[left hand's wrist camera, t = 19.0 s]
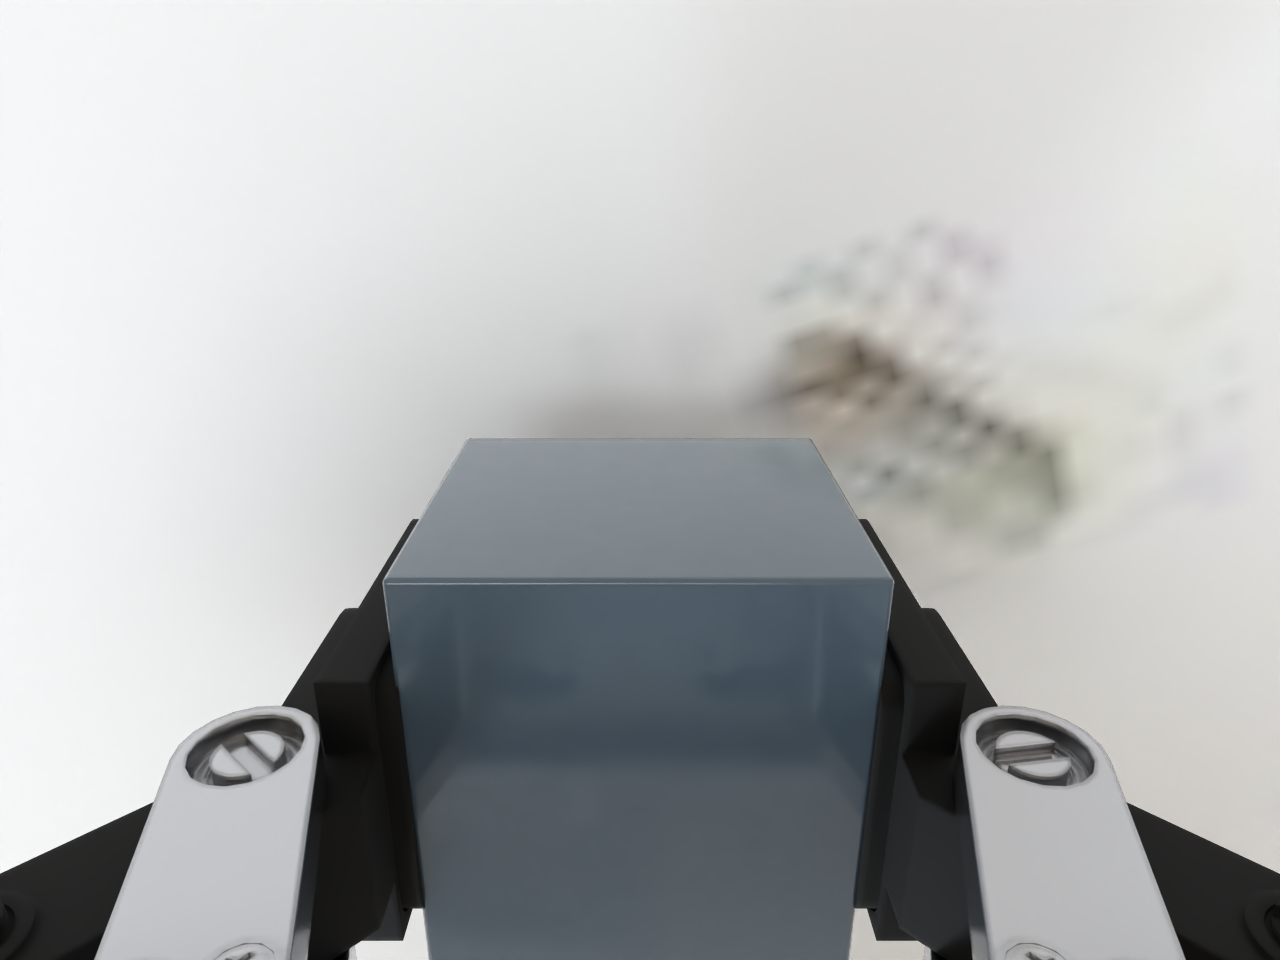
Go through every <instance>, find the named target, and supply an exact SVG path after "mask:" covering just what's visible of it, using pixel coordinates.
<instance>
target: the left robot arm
mask: <svg viewBox="0 0 1280 960" xmlns="http://www.w3.org/2000/svg"><path fill="white" fill-rule="evenodd" d="M418 520H419V519H413V520H412V521H411V522H410V524H409V526H408V527H407V529H406V531H405V532H404V534H403V535H402V537H401V539H400V540H399V542H398V544H397V545H396V547H395V549H394V550H393V552H392V554H391V555H390V557H389V559H388V560H387V562H386V563H385V565H384V567H383V568H382V570H381V572H380V573H379V575H378V577H377V578H376V580H375V582H374V583H373V585H372V587H371V588H370V590H369V591H368V593H367V595H366V596H365V598H364V600H363V601H362V603H361V605H360V606H359V608H348V609H345V610H344V611H343V612H342V613H341V614H340V615H339V617H338V618H337V620H336V622H335V623H334V625H333V626H332V628H331V629H330V631H329V633H328V634H327V636H326V637H325V639H324V640H323V642H322V644H321V645H320V647H319V648H318V650H317V651H316V653H315V654H314V656H313V658H312V659H311V661H310V662H309V664H308V665H307V667H306V669H305V670H304V672H303V673H302V675H301V676H300V678H299V680H298V681H297V683H296V684H295V686H294V687H293V689H292V690H291V692H290V694H289V695H288V697H287V698H286V700H285V701H284V703H283V705H282V706H264V707H254V708H250V709H245V710H241V711H237V712H233V713H231V714H228V715H226V716H223V717H220V718H218V719H215V720H213V721H211V722H209V723H208V724H206V725H204V726H203V727H201V728H199V729H198V730H196V731H194V732H193V733H192V734H191V735H190V736H189V737H187V738H186V739H185V740H184V741H183V742H182V743H181V744H180V745H179V746H178V747H177V749H176V750H175V752H174V754H173V755H172V757H171V759H170V760H169V763H168V766H167V768H166V771H165V774H164V776H163V779H162V782H161V784H160V787H159V789H158V792H157V795H156V797H155V800H154V802H153V803H151V804H149V805H146V806H144V807H142V808H140V809H138V810H136V811H134V812H131V813H129V814H127V815H125V816H123V817H121V818H119V819H116V820H114V821H112V822H110V823H108V824H106V825H104V826H101V827H99V828H97V829H95V830H93V831H91V832H89V833H86V834H84V835H82V836H80V837H78V838H76V839H74V840H71V841H69V842H67V843H65V844H63V845H61V846H59V847H56V848H54V849H52V850H50V851H48V852H46V853H44V854H41V855H39V856H37V857H35V858H33V859H31V860H29V861H27V862H24V863H22V864H20V865H18V866H16V867H14V868H12V869H9V870H7V871H5V872H3V873H1V874H0V960H357V958H356V951H355V945H356V944H357V943H359V942H360V941H403V939H404V935H405V932H406V929H407V925H408V922H409V919H410V915H411V912H412V909H413V908H425V904H424V895H423V887H422V879H421V871H420V862H419V854H418V846H417V837H416V829H415V821H414V813H413V804H412V796H411V788H410V779H409V771H408V763H407V755H406V746H405V738H404V730H403V722H402V713H401V705H400V697H399V688H398V687H397V686H396V685H395V679H394V671H393V663H392V655H391V647H390V639H389V631H388V622H387V614H386V606H385V598H384V590H383V580H384V578H385V576H386V574H387V573H388V571H389V569H390V568H391V566H392V564H393V562H394V561H395V559H396V557H397V556H398V554H399V552H400V551H401V549H402V547H403V546H404V544H405V542H406V541H407V539H408V537H409V536H410V534H411V532H412V531H413V529H414V527H415V525H416V524H417V522H418ZM858 520H859V521H860V523H861V525H862V526H863V528H864V530H865V532H866V533H867V535H868V537H869V538H870V540H871V542H872V543H873V545H874V547H875V549H876V550H877V552H878V554H879V555H880V557H881V559H882V561H883V562H884V564H885V566H886V567H887V569H888V571H889V572H890V574H891V576H892V578H893V580H894V589H893V597H892V606H891V614H890V622H889V631H888V639H887V647H886V656H885V664H884V672H883V681H882V686H881V690H880V699H879V707H878V715H877V724H876V732H875V740H874V749H873V757H872V765H871V774H870V782H869V790H868V798H867V807H866V815H865V823H864V832H863V840H862V848H861V857H860V865H859V873H858V882H857V890H856V898H855V907H854V908H867V910H868V913H869V917H870V920H871V923H872V927H873V930H874V933H875V937H876V940H877V941H919V942H921V943H922V944H924V945H925V951H924V958H923V960H1280V874H1279V873H1277V872H1275V871H1272V870H1270V869H1268V868H1266V867H1264V866H1262V865H1260V864H1257V863H1255V862H1253V861H1251V860H1249V859H1247V858H1245V857H1242V856H1240V855H1238V854H1236V853H1234V852H1232V851H1230V850H1227V849H1225V848H1223V847H1221V846H1219V845H1217V844H1215V843H1212V842H1210V841H1208V840H1206V839H1204V838H1202V837H1200V836H1197V835H1195V834H1193V833H1191V832H1189V831H1187V830H1185V829H1182V828H1180V827H1178V826H1176V825H1174V824H1172V823H1170V822H1167V821H1165V820H1163V819H1161V818H1159V817H1157V816H1155V815H1152V814H1150V813H1148V812H1146V811H1144V810H1142V809H1140V808H1138V807H1135V806H1133V805H1131V804H1129V803H1127V802H1126V800H1125V797H1124V795H1123V792H1122V789H1121V787H1120V784H1119V782H1118V779H1117V776H1116V774H1115V771H1114V768H1113V766H1112V763H1111V760H1110V759H1109V757H1108V755H1107V754H1106V752H1105V750H1104V749H1103V747H1102V746H1101V745H1100V744H1099V743H1098V742H1097V741H1096V740H1095V739H1094V738H1093V737H1091V736H1090V735H1089V734H1088V733H1087V732H1086V731H1084V730H1082V729H1081V728H1079V727H1077V726H1076V725H1074V724H1072V723H1071V722H1069V721H1067V720H1065V719H1062V718H1060V717H1057V716H1054V715H1052V714H1049V713H1047V712H1043V711H1039V710H1035V709H1030V708H1026V707H1016V706H998V705H997V704H996V702H995V701H994V699H993V697H992V696H991V694H990V693H989V691H988V690H987V688H986V687H985V685H984V683H983V682H982V680H981V679H980V677H979V676H978V674H977V672H976V671H975V669H974V668H973V666H972V665H971V663H970V661H969V660H968V658H967V657H966V655H965V654H964V652H963V651H962V649H961V647H960V646H959V644H958V643H957V641H956V640H955V638H954V636H953V635H952V633H951V632H950V630H949V629H948V627H947V625H946V624H945V622H944V621H943V619H942V618H941V616H940V614H939V613H938V612H937V611H936V610H935V609H932V608H921V607H920V605H919V604H918V602H917V600H916V599H915V597H914V596H913V594H912V592H911V591H910V589H909V587H908V586H907V584H906V582H905V581H904V579H903V577H902V576H901V574H900V572H899V571H898V569H897V568H896V566H895V564H894V563H893V561H892V559H891V558H890V556H889V554H888V553H887V551H886V549H885V548H884V546H883V544H882V543H881V541H880V540H879V538H878V536H877V535H876V533H875V531H874V530H873V528H872V526H871V525H870V523H869V522H868V521H867V520H866V519H858Z"/></svg>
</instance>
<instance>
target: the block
mask: <svg viewBox="0 0 1280 960" xmlns="http://www.w3.org/2000/svg"><path fill="white" fill-rule="evenodd" d="M893 589H894V580H893V578H892V576H891V574H890V572H889V571H888V569H887V567H886V566H885V564H884V562H883V561H882V559H881V557H880V555H879V554H878V552H877V550H876V549H875V547H874V545H873V543H872V542H871V540H870V538H869V537H868V535H867V533H866V532H865V530H864V528H863V526H862V525H861V523H860V521H859V520H858V518H857V516H856V515H855V513H854V511H853V509H852V508H851V506H850V504H849V503H848V501H847V499H846V497H845V496H844V494H843V492H842V491H841V489H840V487H839V486H838V484H837V482H836V480H835V479H834V477H833V475H832V474H831V472H830V470H829V469H828V467H827V465H826V463H825V462H824V460H823V458H822V457H821V455H820V453H819V451H818V450H817V448H816V446H815V445H814V443H813V441H812V440H811V439H468V440H466V441H465V443H464V445H463V446H462V448H461V450H460V451H459V453H458V455H457V457H456V458H455V460H454V462H453V463H452V465H451V467H450V468H449V470H448V472H447V473H446V475H445V477H444V478H443V480H442V482H441V483H440V485H439V487H438V488H437V490H436V492H435V494H434V495H433V497H432V499H431V500H430V502H429V504H428V505H427V507H426V509H425V510H424V512H423V514H422V515H421V517H420V519H419V520H418V522H417V524H416V525H415V527H414V529H413V531H412V532H411V534H410V536H409V537H408V539H407V541H406V542H405V544H404V546H403V547H402V549H401V551H400V552H399V554H398V556H397V557H396V559H395V561H394V562H393V564H392V566H391V568H390V569H389V571H388V573H387V574H386V576H385V578H384V580H383V590H384V598H385V606H386V614H387V622H388V631H389V639H390V647H391V655H392V663H393V671H394V679H395V685H396V686H397V687H398V688H399V697H400V705H401V713H402V722H403V730H404V738H405V746H406V755H407V763H408V771H409V779H410V788H411V796H412V804H413V813H414V821H415V829H416V837H417V846H418V854H419V862H420V871H421V879H422V887H423V895H424V904H425V908H423V915H424V924H425V932H426V940H427V948H428V956H429V960H849V956H850V947H851V939H852V931H853V922H854V914H855V908H854V907H855V898H856V890H857V882H858V873H859V865H860V857H861V848H862V840H863V832H864V823H865V815H866V807H867V798H868V790H869V782H870V774H871V765H872V757H873V749H874V740H875V732H876V724H877V715H878V707H879V699H880V690H881V686H882V681H883V672H884V664H885V656H886V647H887V639H888V631H889V622H890V614H891V606H892V597H893Z"/></svg>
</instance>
